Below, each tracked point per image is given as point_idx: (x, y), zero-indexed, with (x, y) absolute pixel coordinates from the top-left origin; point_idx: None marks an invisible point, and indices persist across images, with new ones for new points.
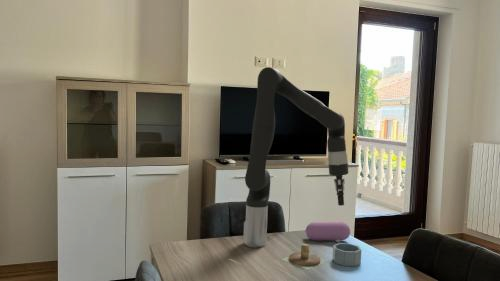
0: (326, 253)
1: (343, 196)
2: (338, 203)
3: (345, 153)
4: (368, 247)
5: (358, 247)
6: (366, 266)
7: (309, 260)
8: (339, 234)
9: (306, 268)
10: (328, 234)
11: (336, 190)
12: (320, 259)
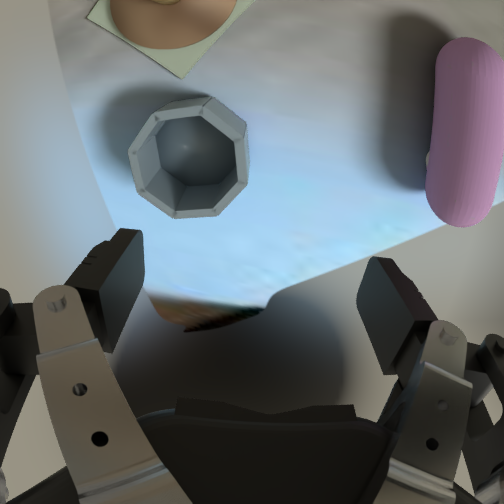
0: (293, 80)
1: (368, 333)
2: (114, 237)
3: None
4: (372, 248)
5: (201, 212)
6: None
7: (144, 11)
8: (430, 171)
9: (95, 13)
10: (436, 124)
11: (70, 347)
12: (196, 49)
